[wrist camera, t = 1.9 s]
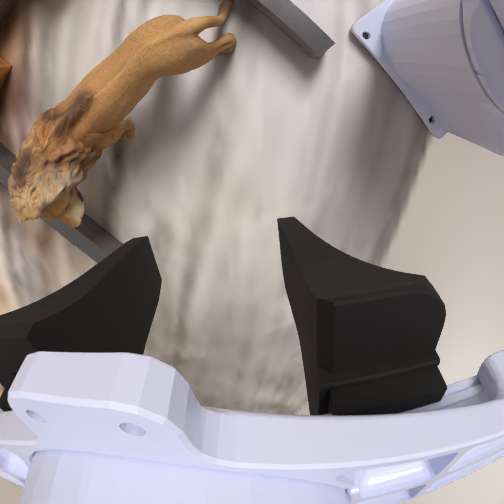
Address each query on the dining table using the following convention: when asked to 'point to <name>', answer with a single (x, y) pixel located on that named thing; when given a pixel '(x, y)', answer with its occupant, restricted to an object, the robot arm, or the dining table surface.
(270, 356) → the dining table surface
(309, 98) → the dining table surface
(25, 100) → the dining table surface
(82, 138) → the lion figurine
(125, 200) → the dining table surface
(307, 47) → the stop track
